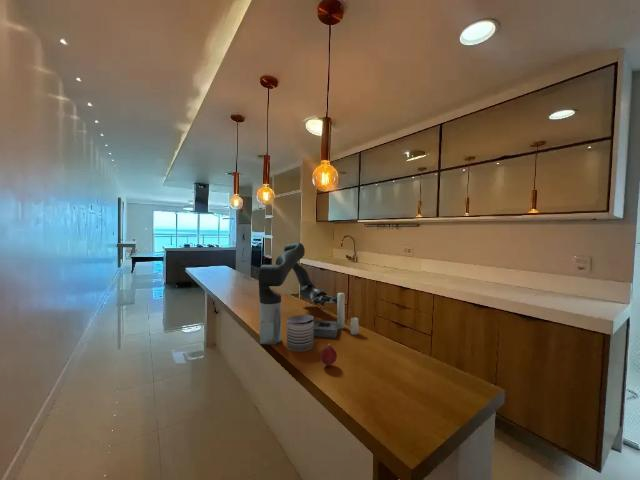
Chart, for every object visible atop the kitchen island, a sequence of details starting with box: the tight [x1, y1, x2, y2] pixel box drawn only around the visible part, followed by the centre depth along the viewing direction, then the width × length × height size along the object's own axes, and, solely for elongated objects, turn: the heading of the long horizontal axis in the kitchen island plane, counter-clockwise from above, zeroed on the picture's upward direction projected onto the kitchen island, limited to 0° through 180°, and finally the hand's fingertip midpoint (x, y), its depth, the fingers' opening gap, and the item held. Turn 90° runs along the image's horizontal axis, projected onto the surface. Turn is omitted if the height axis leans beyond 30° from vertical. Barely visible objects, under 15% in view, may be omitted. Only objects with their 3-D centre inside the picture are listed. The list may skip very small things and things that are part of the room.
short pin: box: [350, 317, 359, 336], centre depth 130 cm, size 4×4×7 cm
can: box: [286, 314, 314, 352], centre depth 116 cm, size 11×11×12 cm
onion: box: [320, 343, 338, 367], centre depth 99 cm, size 6×6×8 cm
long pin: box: [336, 292, 346, 329], centre depth 138 cm, size 4×4×17 cm
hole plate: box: [313, 319, 339, 339], centre depth 132 cm, size 12×12×4 cm
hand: (331, 302), depth 148 cm, fingers open, 8 cm apart
